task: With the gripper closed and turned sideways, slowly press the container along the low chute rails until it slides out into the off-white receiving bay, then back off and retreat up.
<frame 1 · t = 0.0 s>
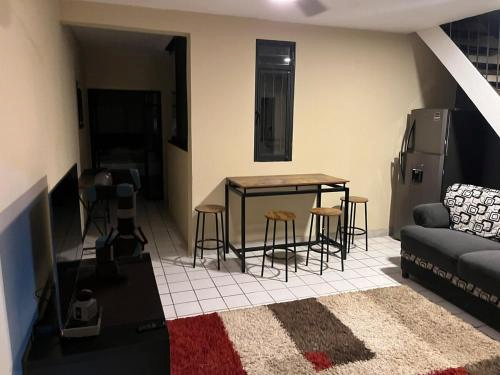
hand: (126, 258, 191), 28 cm above the table, tool pointing down, fingers open, 13 cm apart
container: (85, 316, 190), on the table
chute: (83, 322, 185), on the table
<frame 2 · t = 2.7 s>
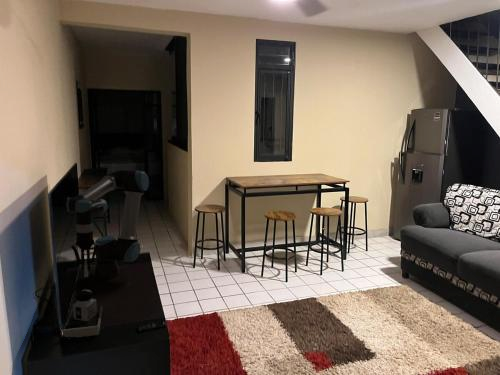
hand: (86, 276, 198), 16 cm above the table, tool pointing down, fingers closed
nothing on the table moved.
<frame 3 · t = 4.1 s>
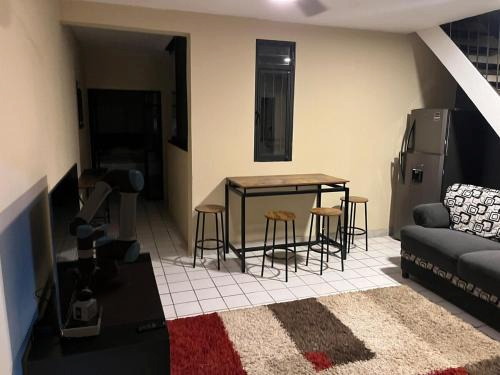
hand: (87, 299, 201), 3 cm above the table, tool pointing down, fingers closed
nothing on the table moved.
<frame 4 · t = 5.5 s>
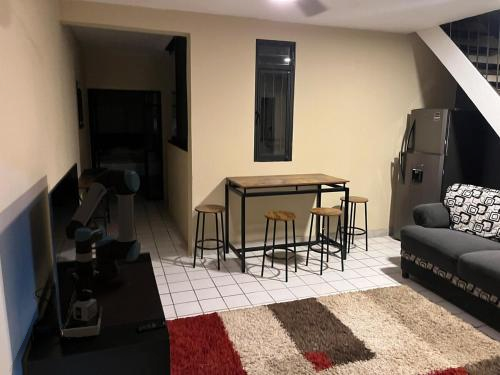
hand: (86, 304, 196), 3 cm above the table, tool pointing down, fingers closed
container: (85, 316, 190), on the table, touching gripper
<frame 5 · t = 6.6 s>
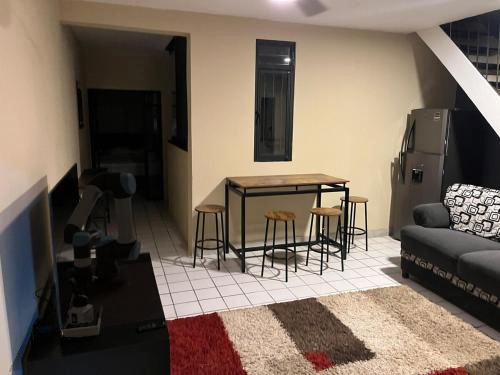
hand: (84, 310, 190), 3 cm above the table, tool pointing down, fingers closed
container: (81, 323, 185), on the table, touching gripper
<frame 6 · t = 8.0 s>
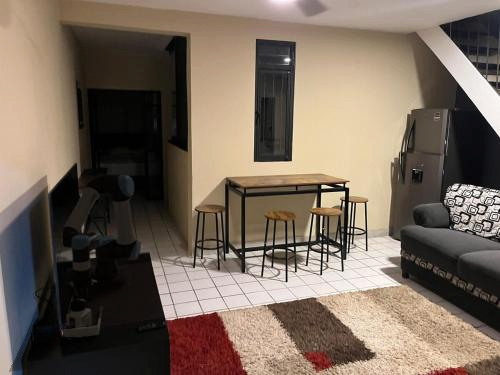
hand: (84, 314, 186), 3 cm above the table, tool pointing down, fingers closed
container: (79, 327, 181), on the table, touching gripper
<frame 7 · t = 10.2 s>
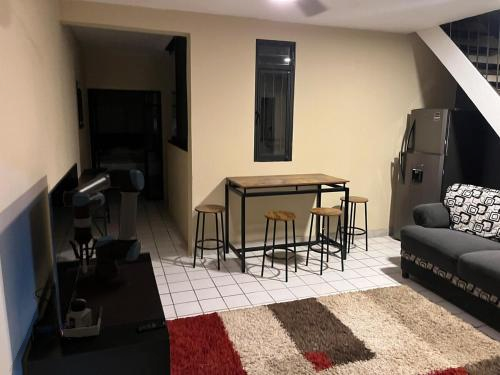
hand: (85, 271, 192), 21 cm above the table, tool pointing down, fingers closed
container: (79, 327, 181), on the table
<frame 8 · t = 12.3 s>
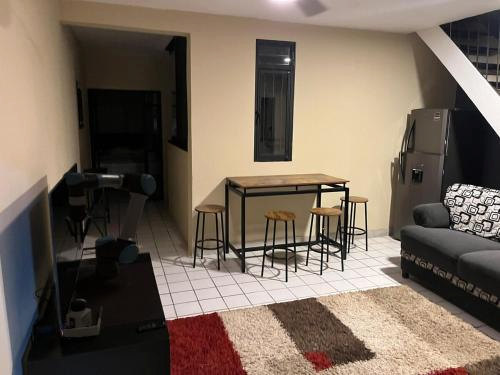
hand: (79, 248, 201), 28 cm above the table, tool pointing down, fingers closed
nothing on the table moved.
at the end: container inside the target area (2.7 cm from its centre), on the table; the gripper is holding nothing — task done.
